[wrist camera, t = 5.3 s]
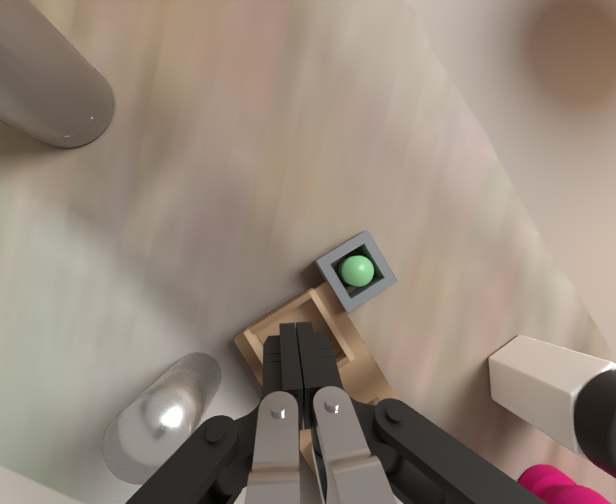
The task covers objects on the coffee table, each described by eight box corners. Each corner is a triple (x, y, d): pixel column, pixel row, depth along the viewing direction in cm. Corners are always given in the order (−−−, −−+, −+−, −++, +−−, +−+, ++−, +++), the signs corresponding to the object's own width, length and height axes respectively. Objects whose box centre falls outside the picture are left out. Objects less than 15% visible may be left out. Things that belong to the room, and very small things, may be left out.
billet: (162, 369, 29) (87, 433, 18) (205, 343, 30) (158, 389, 19) (187, 411, 29) (128, 500, 18) (230, 384, 30) (197, 455, 19)
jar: (559, 412, 32) (720, 498, 20) (490, 418, 31) (616, 512, 20) (552, 331, 33) (706, 370, 21) (484, 336, 32) (603, 379, 20)
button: (332, 265, 31) (337, 265, 28) (356, 251, 31) (363, 250, 28) (347, 289, 31) (353, 292, 28) (370, 275, 31) (379, 276, 28)
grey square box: (313, 261, 31) (316, 260, 28) (360, 232, 31) (367, 229, 29) (342, 308, 31) (347, 313, 28) (388, 279, 31) (398, 281, 29)
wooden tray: (234, 333, 30) (227, 342, 26) (323, 278, 31) (328, 279, 27) (336, 503, 30) (343, 534, 26) (422, 442, 31) (440, 465, 27)
